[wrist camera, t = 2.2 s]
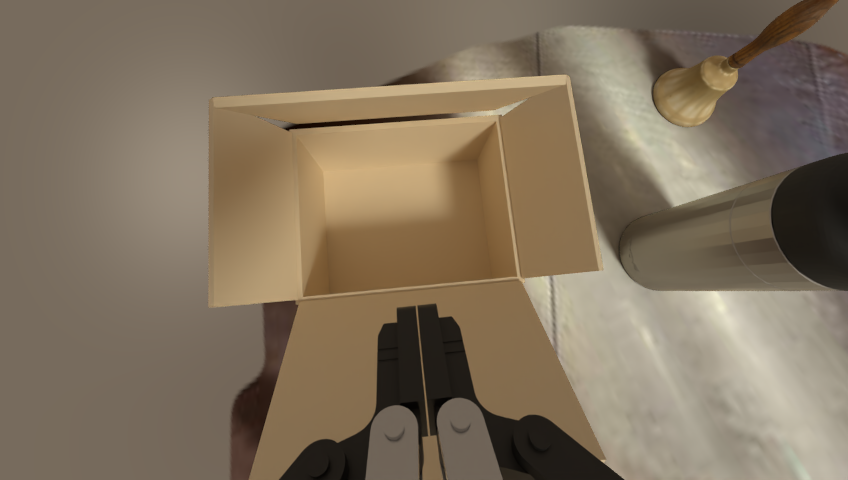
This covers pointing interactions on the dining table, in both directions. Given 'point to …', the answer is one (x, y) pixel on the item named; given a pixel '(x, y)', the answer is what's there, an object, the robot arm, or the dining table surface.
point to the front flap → (390, 100)
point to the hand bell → (727, 68)
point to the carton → (401, 255)
